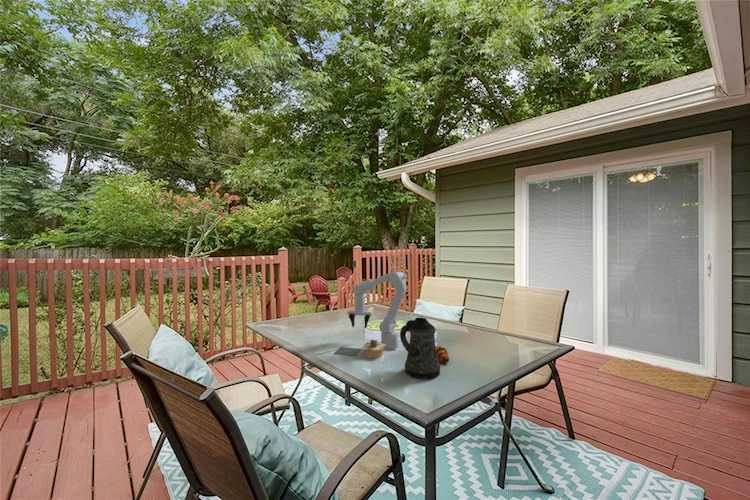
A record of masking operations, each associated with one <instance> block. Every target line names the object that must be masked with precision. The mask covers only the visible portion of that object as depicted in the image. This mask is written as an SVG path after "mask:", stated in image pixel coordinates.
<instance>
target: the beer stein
mask: <svg viewBox="0 0 750 500" xmlns="http://www.w3.org/2000/svg"><path fill="white" fill-rule="evenodd" d="M436 331H437V329H436V328H435V326H434V325H433V324H432V323H430V322H429V321H428V319H427V318H425V317H416V318H415V319H414V320H411V319H410V320H408V321H407V322H406V323H405V325H404V326H402V327H401V329H400V331H399V338H400V342H401V344H402V346H403V347H404V349H405V350H406V352H407V356H406V360H405V363H404V369H405V374H406V376H408V377H410V378H413V379H418V380H432V379H436V378H437V377H439V376H440V373H441V364H440V362H439V361H438V357H437V352H436V346H437V345H436V340H435V334H436ZM407 332H408V333H409V334H410V336H409V341H408V339H407V336H406V335H407Z"/></svg>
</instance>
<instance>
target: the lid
mask: <svg viewBox="0 0 750 500" xmlns="http://www.w3.org/2000/svg"><path fill="white" fill-rule="evenodd" d="M385 346H386V344H381V343H378V339H370V342H366V343H365V344H364V345H363V346H362V347H361V348H360V349H361V351H362V350H363V351H365V350H370V351H381V352H382V350H383V351H384V350H385V349H384V348H385ZM382 353H383V352H382Z"/></svg>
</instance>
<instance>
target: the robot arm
mask: <svg viewBox="0 0 750 500" xmlns="http://www.w3.org/2000/svg"><path fill="white" fill-rule="evenodd" d="M406 279H407V276H406V275H405V273H404V272H403V271H396V272H389V273H386V274H384V275H382V276H379V277H378V278H375V279H371V278H368V279H366V281H364V282H359V283H360V284H355V285H354V287H352V292H353V293H354V310H348V311H347V315H348V318H349V321H350V323H351V327H352V328H354V327H355V323H356V322H355V319H356V316H363V318H364V329H367V328H368V324H369V320H370V318H371V317H372V315H373V314H372V313H373V312H371V311H365V297H366V295H365V294H366V293H367V292H369V291H370V290H373V289H376V286H378V285H380V284H382V283H385V282H387V283H388V282H389V283H390V284H391V286H393V287H394V288H395V293H394V295H393V298H392V300H391V303H390V306H389V308H388V310H387V314H386V316H385V317H384V318H383V321H381V322H380V323H379V327H378V328H379V331H380V334H381V336H380V337H381V340H380V341H381V342H380V344H386V346H385V348H384V349H383V350H390V351H391V350H392V351H397V349H398V347H399V334H398V332H395V328H396V326H397V324H396V323H397V314H398V312H399V310H400V308H401V305H402V302H403V299H404V297H405V294H406V292H407V282H406V281H407V280H406Z"/></svg>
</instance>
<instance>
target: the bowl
mask: <svg viewBox="0 0 750 500" xmlns="http://www.w3.org/2000/svg"><path fill="white" fill-rule="evenodd" d="M383 351H384V349H383V350H382V352H381V351H370V350H364V356H365V357H367V358H368V359H379V358H382V357H383Z"/></svg>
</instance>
